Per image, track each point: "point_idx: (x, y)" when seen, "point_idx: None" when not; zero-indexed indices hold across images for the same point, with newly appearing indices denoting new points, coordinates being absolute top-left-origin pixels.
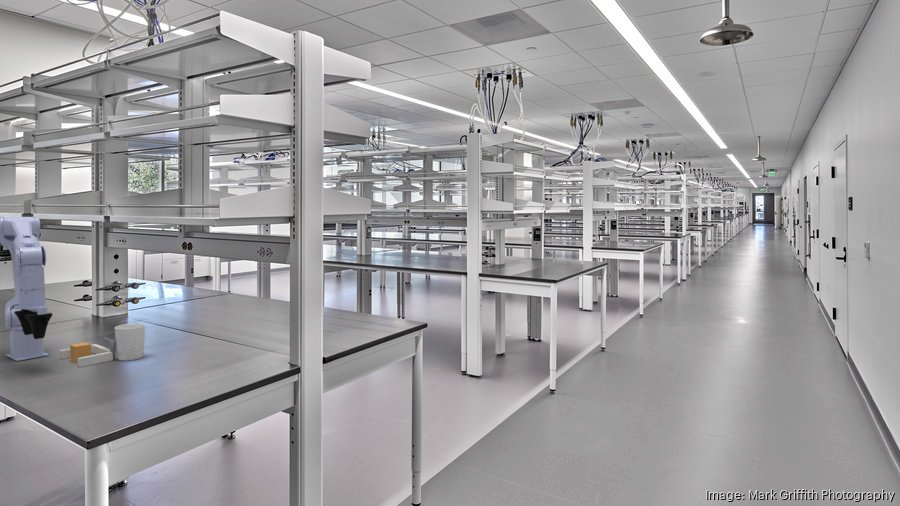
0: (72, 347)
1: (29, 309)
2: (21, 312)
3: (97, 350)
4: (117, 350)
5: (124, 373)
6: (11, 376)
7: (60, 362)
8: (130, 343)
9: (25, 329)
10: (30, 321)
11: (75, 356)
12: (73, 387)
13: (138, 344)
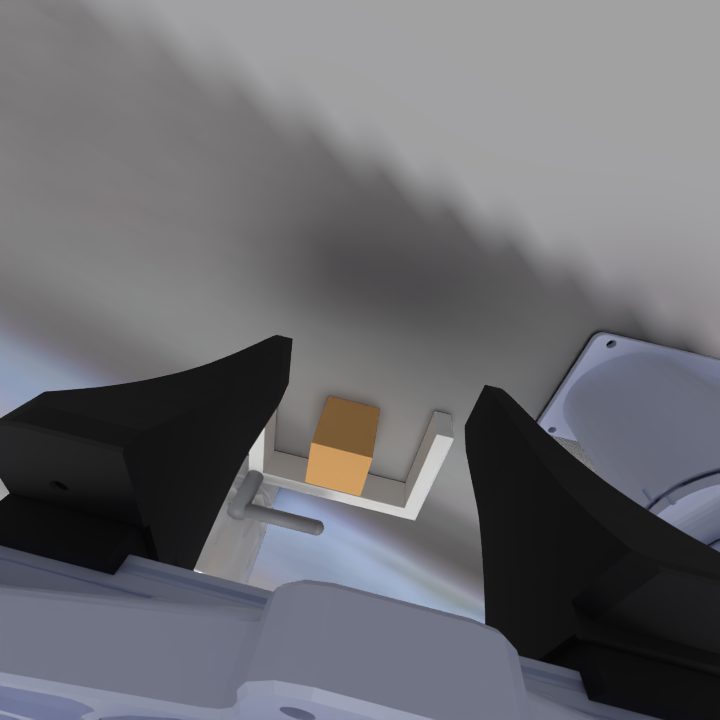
0: (347, 445)
1: (40, 595)
2: (589, 590)
3: (367, 487)
4: (240, 482)
5: (83, 375)
6: (366, 173)
7: (393, 384)
8: None
9: (496, 417)
10: (125, 388)
11: (326, 413)
12: (4, 208)
13: None
